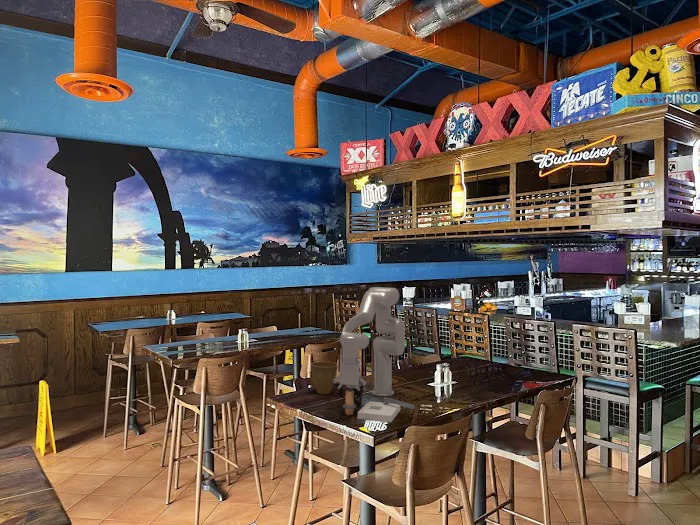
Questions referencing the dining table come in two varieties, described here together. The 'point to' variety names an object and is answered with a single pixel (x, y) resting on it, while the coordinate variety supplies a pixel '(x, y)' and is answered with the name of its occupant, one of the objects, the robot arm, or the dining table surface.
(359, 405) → the coffee mug
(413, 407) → the clip
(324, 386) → the plant pot
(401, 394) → the dining table surface
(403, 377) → the dining table surface
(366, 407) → the socket board
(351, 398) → the plug
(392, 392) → the robot arm
